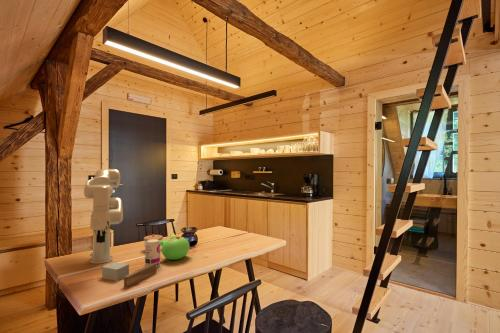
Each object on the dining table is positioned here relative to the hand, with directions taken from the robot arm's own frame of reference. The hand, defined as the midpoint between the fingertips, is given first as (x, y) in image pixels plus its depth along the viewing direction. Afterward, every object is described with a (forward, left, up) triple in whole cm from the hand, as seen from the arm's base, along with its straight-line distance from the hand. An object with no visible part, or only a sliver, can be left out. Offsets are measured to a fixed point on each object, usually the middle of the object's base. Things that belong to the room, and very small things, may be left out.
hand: (100, 242), depth 146 cm
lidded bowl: (-2, +44, -17) cm, 47 cm away
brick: (+11, 0, -17) cm, 21 cm away
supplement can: (+19, +19, -17) cm, 32 cm away
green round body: (+23, +35, -17) cm, 45 cm away
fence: (+26, +2, -17) cm, 31 cm away
